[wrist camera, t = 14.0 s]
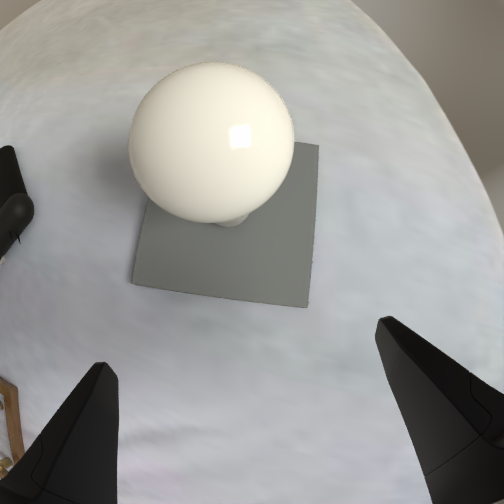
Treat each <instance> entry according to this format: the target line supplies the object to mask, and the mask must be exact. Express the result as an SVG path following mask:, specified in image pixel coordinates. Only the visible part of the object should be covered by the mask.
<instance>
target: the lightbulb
mask: <svg viewBox="0 0 504 504" xmlns="http://www.w3.org/2000/svg"><path fill="white" fill-rule="evenodd" d="M128 149H129V158H130V163H131V167H132V170H133V173H134V175H135V177H136V180H137V181H138V183H139V185H140V187H141V188H142V190H143V191H144V192H145V193H146V195H147V196H148V197H149V198H150V199H151V200H152V201H153V202H154V203H155V204H156V205H158V206H159V207H160V208H162V209H163V210H165V211H166V212H168V213H170V214H172V215H174V216H176V217H179V218H181V219H184V220H188V221H192V222H198V223H216V224H217V225H220V226H223V227H233V226H236V225H239V224H240V223H242V222H243V221H244V220H245V219H246V218H247V217H248V215H249V213H251V212H253V211H254V210H256V209H258V208H259V207H260V206H262V205H263V204H264V203H265V202H267V201H268V200H269V199H270V198H271V197H272V196H273V195H274V193H275V192H276V191H277V190H278V188H279V187H280V186H281V184H282V182H283V181H284V179H285V177H286V175H287V173H288V171H289V168H290V165H291V162H292V158H293V152H294V129H293V124H292V120H291V116H290V113H289V111H288V109H287V106H286V105H285V103H284V101H283V99H282V98H281V96H280V95H279V93H278V92H277V91H276V90H275V89H274V87H273V86H272V85H271V84H269V83H268V82H267V81H266V80H265V79H263V78H262V77H261V76H259V75H258V74H256V73H254V72H252V71H250V70H248V69H246V68H244V67H241V66H238V65H234V64H229V63H223V62H204V63H197V64H193V65H189V66H186V67H183V68H181V69H178V70H176V71H174V72H172V73H170V74H169V75H167V76H166V77H164V78H163V79H161V80H160V81H159V82H158V83H156V84H155V85H154V86H153V87H152V88H151V89H150V90H149V91H148V93H147V94H146V95H145V96H144V98H143V99H142V101H141V102H140V104H139V106H138V108H137V110H136V112H135V114H134V116H133V119H132V122H131V126H130V131H129V140H128Z"/></svg>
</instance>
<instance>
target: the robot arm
mask: <svg viewBox="0 0 504 504" xmlns="http://www.w3.org/2000/svg"><path fill="white" fill-rule="evenodd" d="M375 341H376V344H377V347H378V350H379V354H380V357H381V360H382V363H383V367H384V370H385V374H386V377H387V380H388V382H389V385H390V387H391V390H392V392H393V395H394V397H395V399H396V402H397V404H398V407H399V409H400V412H401V414H402V417H403V419H404V422H405V424H406V427H407V430H408V432H409V435H410V438H411V440H412V443H413V446H414V448H415V451H416V454H417V457H418V460H419V463H420V465H421V468H422V471H423V474H424V476H425V477H424V478H425V481H426V484H427V487H428V490H429V493H430V496H431V500H432V503H433V504H504V394H503V393H501V392H499V391H498V390H496V389H494V388H493V387H491V386H489V385H488V384H487V383H485V382H484V381H482V380H481V379H479V378H478V377H477V376H475V375H474V374H473V373H471V372H469V371H468V370H467V369H466V368H464V367H463V366H461V365H460V364H459V363H457V362H456V361H455V360H453V359H452V358H450V357H449V356H448V355H446V354H445V353H444V352H442V351H441V350H439V349H438V348H437V347H435V346H434V345H432V344H431V343H430V342H428V341H427V340H425V339H424V338H422V337H421V336H420V335H418V334H417V333H415V332H414V331H413V330H411V329H410V328H408V327H407V326H405V325H404V324H403V323H401V322H400V321H398V320H397V319H395V318H394V317H392V316H386V317H383V318H380V319H379V320H378V324H377V329H376V333H375ZM118 430H119V394H118V377H117V375H116V374H115V373H114V371H113V370H112V369H111V367H110V366H109V365H108V364H107V363H106V362H96V363H94V364H93V366H92V367H91V368H90V369H89V371H88V372H87V373H86V374H85V376H84V377H83V378H82V379H81V381H80V382H79V383H78V384H77V386H76V387H75V388H74V389H73V391H72V392H71V393H70V395H69V396H68V397H67V398H66V400H65V401H64V402H63V404H62V405H61V406H60V408H59V409H58V410H57V411H56V413H55V414H54V415H53V417H52V418H51V419H50V421H49V422H48V423H47V425H46V426H45V427H44V429H43V430H42V431H41V434H39V435H38V437H37V438H36V440H35V441H34V442H33V444H32V445H31V446H30V448H29V449H28V450H27V451H26V453H25V454H24V455H23V456H22V457H21V459H20V460H19V461H18V462H17V463H16V464H15V465H14V467H13V468H12V469H11V470H10V471H9V472H8V474H7V475H6V476H5V477H4V478H2V479H1V480H0V504H117V451H118Z"/></svg>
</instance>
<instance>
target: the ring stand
mask: <svg viewBox="0 0 504 504" xmlns="http://www.w3.org/2000/svg"><path fill="white" fill-rule="evenodd" d="M0 393H1V394H2V395H4V401H5V411H6V420H7V427H8V433H9V439H10V445H11V450H12V455H13V460H14V464H16V463H17V462H18V461H19V460H20V459H21V457H22V456H23V455H24V454H25V451H24V446H23V439H22V433H21V425H20V416H19V406H18V391H17V387H15V386H13V385H12V384H10V383H8V382H7V381H5V380H3V379H2V378H0ZM0 410H3V405H2V403H1V401H0ZM12 465H13V464H12V461H11V460H10V459H9V458H8V457H6V458H4V459H2V460H0V478H1V479H2V478H4V477H5V476H6V475H7V474H8V472H7V471H6V470H5V469H6V468H8V467H10V466H12Z"/></svg>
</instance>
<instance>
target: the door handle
mask: <svg viewBox="0 0 504 504" xmlns="http://www.w3.org/2000/svg"><path fill="white" fill-rule="evenodd" d="M33 215H34V205H33V202H32V200H31V199H30V198H29V197H28V195H27V192H26V189H25V186H24V182H23V179H22V176H21V173H20V169H19V166H18V162H17V158H16V155H15V151H14V148H13V147H12V146H10V145H7V146H4V147H2V148H0V266H1V265H2V264H3V262H4V261H5V259H6V258H5V253H6V252H7V251H8V249H9V248H10V247H11V245H12V244H13V243H14V241H15V240H16V239H17V238H18V240H19V242H20V239H19V235H20V234H21V233H22V231H23V230H24V229H25V228H26V227H27V225H28V224H29V223H30V222H31V220H32V218H33ZM20 244H21V243H20Z"/></svg>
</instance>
